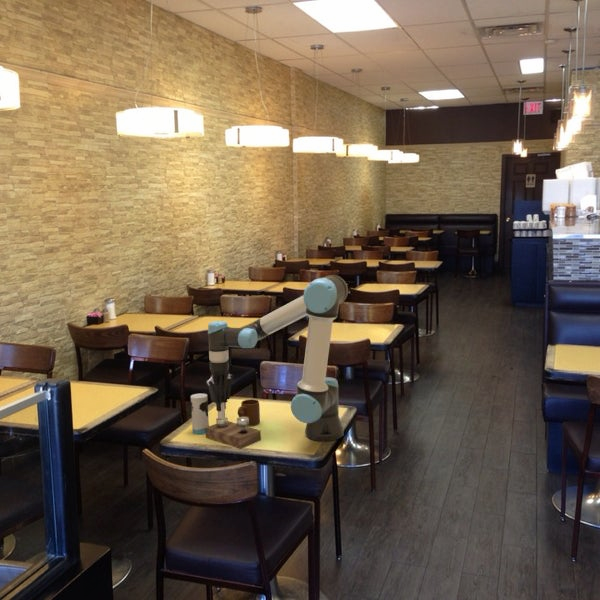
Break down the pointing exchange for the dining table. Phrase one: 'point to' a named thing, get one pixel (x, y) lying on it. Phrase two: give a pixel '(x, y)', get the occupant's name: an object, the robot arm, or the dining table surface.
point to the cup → (199, 413)
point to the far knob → (222, 422)
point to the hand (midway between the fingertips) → (221, 418)
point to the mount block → (233, 435)
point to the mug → (250, 411)
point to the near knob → (243, 423)
